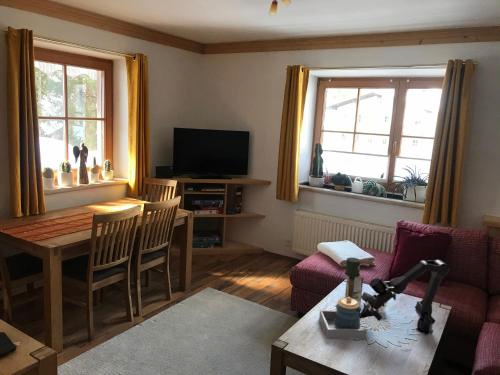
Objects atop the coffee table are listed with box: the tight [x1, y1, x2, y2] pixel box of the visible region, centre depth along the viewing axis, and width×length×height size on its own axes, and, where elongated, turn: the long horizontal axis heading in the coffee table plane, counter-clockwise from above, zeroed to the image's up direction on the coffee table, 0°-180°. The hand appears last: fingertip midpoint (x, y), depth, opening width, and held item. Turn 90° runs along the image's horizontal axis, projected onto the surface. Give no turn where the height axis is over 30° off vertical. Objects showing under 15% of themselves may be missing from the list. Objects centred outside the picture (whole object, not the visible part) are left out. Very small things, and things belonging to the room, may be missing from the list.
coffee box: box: [344, 275, 364, 304], centre depth 246 cm, size 9×6×16 cm
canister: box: [334, 297, 362, 329], centre depth 212 cm, size 13×13×18 cm
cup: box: [378, 302, 388, 313], centre depth 235 cm, size 7×10×8 cm
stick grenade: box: [344, 257, 361, 298], centre depth 234 cm, size 8×9×30 cm
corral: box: [318, 309, 368, 340], centre depth 212 cm, size 20×20×5 cm
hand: (359, 317), depth 212 cm, fingers closed
